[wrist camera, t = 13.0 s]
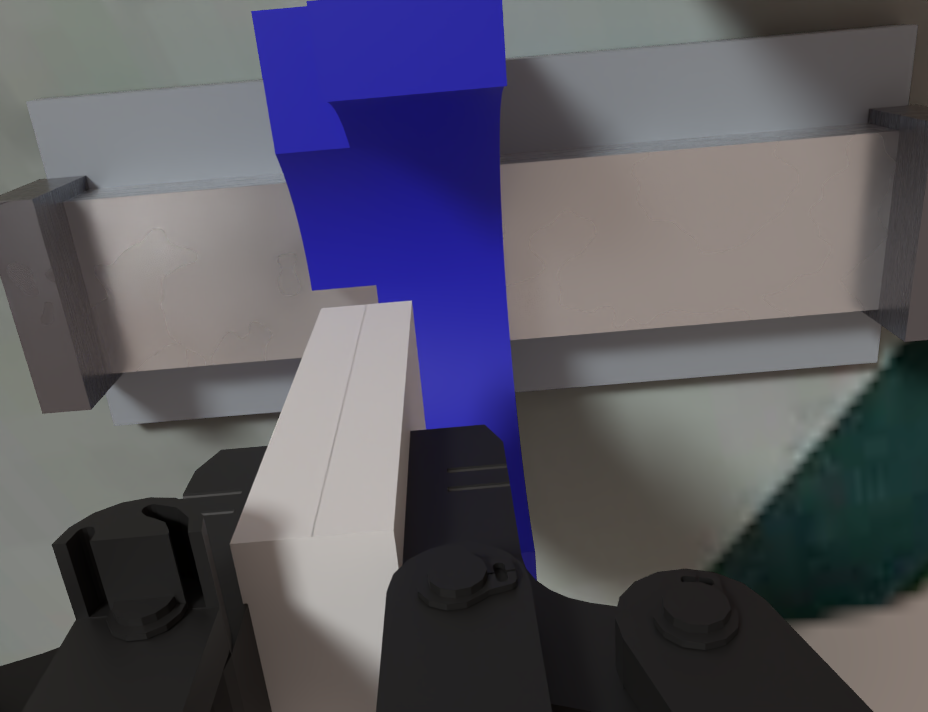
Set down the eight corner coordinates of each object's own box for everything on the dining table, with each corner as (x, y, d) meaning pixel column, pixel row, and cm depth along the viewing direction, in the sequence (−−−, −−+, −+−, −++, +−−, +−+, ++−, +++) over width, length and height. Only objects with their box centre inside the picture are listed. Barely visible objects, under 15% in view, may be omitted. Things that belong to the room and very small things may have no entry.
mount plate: (124, 413, 24) (114, 425, 24) (40, 98, 21) (26, 101, 20) (863, 351, 24) (876, 362, 24) (900, 24, 21) (917, 25, 20)
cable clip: (280, 12, 18) (209, 10, 13) (483, -6, 18) (500, -16, 13) (353, 480, 23) (324, 629, 17) (515, 466, 23) (538, 611, 17)
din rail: (91, 366, 23) (42, 413, 20) (39, 179, 21) (-22, 203, 18) (891, 298, 23) (954, 337, 20) (915, 104, 21) (988, 118, 18)
